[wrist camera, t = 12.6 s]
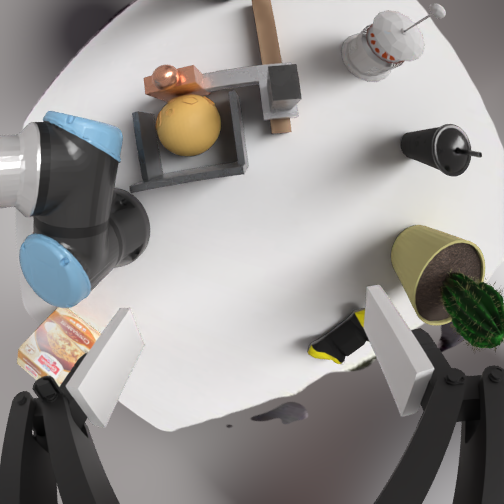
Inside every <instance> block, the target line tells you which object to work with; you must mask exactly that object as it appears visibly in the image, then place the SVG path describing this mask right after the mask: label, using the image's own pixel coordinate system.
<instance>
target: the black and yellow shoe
mask: <svg viewBox="0 0 504 504" xmlns="http://www.w3.org/2000/svg"><path fill="white" fill-rule="evenodd" d="M364 318H365V308H361V309H356V310H354V311H353V312H352V314H351V315H350V316H349V317H348V318H347V319H346V320H345V321H343V322H342V323H341V324H339V325H338V326H337V327H335V328H334V329H333V330H332V331H330V332H329V333H327V334H326V335H325V336H323V337H321V338H320V339H318V340H316V341H314V342H312V343H311V344H310V345H309V347H308V351H307V352H308V354H309V355H311V356H312V357H314V358H318V359H328V360H333V361H334V362H335V363H337V364H344V363H345V356H349V355H350V354H352V353H353V352H354V351H356V350H357V349H358V348H360V347H361V346H363V345H364V344H365V342H366V341H369V339H368V337H367V335H366V332H365V330H364ZM369 342H370V341H369Z"/></svg>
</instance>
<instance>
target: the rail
mask: <svg viewBox="0 0 504 504" xmlns="http://www.w3.org/2000/svg"><path fill="white" fill-rule="evenodd" d="M252 7H253V13H254V18H255V24H256V30H257V36H258V42H259V49H260V55H261V62H262V65H267V64H278V63H282V62H281V55H280V49H279V43H278V38H277V32H276V27H275V21H274V16H273V11H272V5H271V0H252ZM270 125H271V132H272V134H276V133H287V132H291V124H290V118H286V119H275V120H270Z"/></svg>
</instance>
